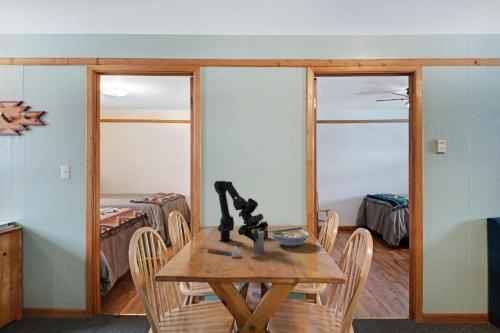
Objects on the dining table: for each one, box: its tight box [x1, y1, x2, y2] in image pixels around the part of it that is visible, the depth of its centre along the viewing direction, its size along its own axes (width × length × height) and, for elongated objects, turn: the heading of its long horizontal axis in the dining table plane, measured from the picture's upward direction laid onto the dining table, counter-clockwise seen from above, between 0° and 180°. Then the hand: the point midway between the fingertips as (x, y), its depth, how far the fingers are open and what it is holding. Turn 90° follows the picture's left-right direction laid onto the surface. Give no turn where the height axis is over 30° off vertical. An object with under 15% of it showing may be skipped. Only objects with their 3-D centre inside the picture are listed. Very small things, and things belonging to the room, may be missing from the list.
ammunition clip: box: [252, 219, 269, 239], centre depth 180 cm, size 11×2×12 cm, turn 108°
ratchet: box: [207, 245, 241, 259], centre depth 145 cm, size 7×20×5 cm, turn 71°
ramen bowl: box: [269, 227, 310, 248], centre depth 164 cm, size 25×23×8 cm
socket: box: [253, 230, 265, 254], centre depth 149 cm, size 4×4×12 cm
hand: (260, 240), depth 148 cm, fingers open, 6 cm apart
